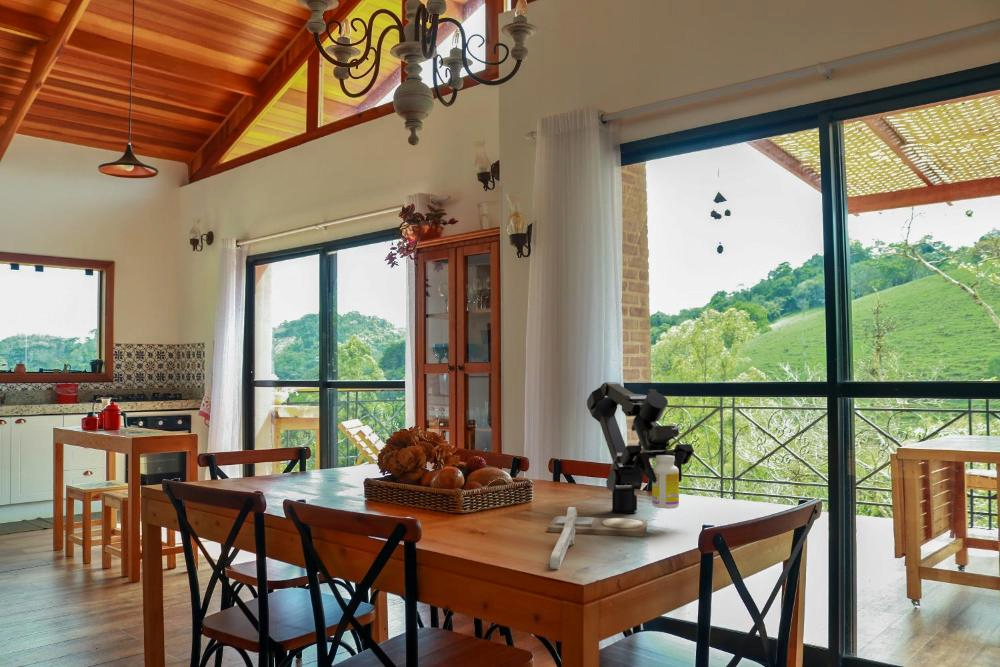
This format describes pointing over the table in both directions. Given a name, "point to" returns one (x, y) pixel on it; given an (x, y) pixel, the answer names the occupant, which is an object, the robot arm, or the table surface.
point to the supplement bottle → (665, 483)
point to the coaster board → (602, 526)
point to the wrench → (564, 539)
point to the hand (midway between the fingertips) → (667, 481)
